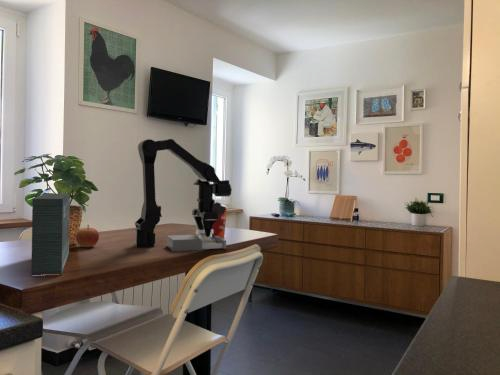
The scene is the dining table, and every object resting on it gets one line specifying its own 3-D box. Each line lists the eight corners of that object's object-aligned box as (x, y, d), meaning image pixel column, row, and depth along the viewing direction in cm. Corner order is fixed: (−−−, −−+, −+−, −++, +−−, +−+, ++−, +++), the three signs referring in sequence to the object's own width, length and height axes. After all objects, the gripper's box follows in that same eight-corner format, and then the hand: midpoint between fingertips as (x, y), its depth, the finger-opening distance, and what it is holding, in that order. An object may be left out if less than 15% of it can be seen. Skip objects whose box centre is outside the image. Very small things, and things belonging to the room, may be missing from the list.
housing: (172, 251, 142) (173, 240, 142) (167, 246, 153) (167, 235, 153) (201, 250, 146) (202, 239, 146) (194, 245, 157) (194, 234, 156)
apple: (85, 244, 151) (85, 223, 151) (103, 246, 149) (103, 224, 149) (70, 248, 143) (70, 225, 143) (89, 249, 141) (89, 226, 141)
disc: (198, 235, 159) (198, 231, 159) (194, 232, 165) (194, 229, 165) (215, 234, 161) (215, 230, 161) (210, 232, 168) (210, 228, 168)
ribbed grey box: (45, 255, 130) (46, 193, 129) (68, 254, 132) (69, 193, 132) (31, 277, 103) (32, 198, 102) (61, 275, 105) (62, 198, 105)
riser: (201, 243, 161) (201, 234, 161) (198, 241, 164) (198, 233, 164) (210, 243, 162) (210, 234, 162) (207, 241, 166) (208, 233, 166)
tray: (198, 249, 146) (198, 241, 146) (191, 244, 156) (191, 236, 156) (227, 248, 150) (227, 240, 150) (218, 243, 160) (218, 236, 160)
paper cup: (225, 238, 176) (226, 206, 175) (208, 237, 176) (209, 205, 175) (227, 235, 183) (228, 205, 183) (210, 235, 184) (211, 204, 183)
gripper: (232, 198, 157) (231, 238, 158) (217, 195, 174) (216, 231, 175) (204, 197, 153) (203, 238, 153) (192, 195, 170) (191, 232, 171)
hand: (204, 235), depth 163 cm, fingers open, 9 cm apart
